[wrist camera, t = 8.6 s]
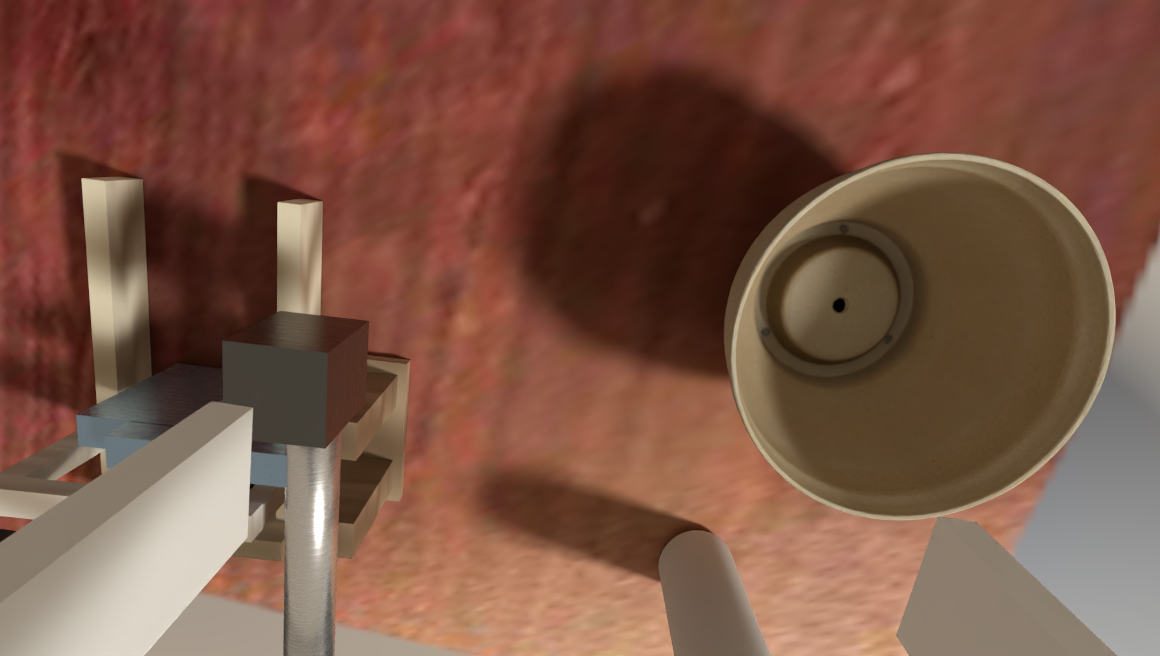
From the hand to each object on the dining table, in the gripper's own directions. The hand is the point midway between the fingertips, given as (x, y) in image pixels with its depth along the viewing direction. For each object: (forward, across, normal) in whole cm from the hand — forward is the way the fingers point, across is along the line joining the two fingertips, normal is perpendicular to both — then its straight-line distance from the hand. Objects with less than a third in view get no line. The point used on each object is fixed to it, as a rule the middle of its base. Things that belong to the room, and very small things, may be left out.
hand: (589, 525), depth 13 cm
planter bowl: (+27, +14, +1) cm, 30 cm away
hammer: (+26, -16, -13) cm, 33 cm away
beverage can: (+26, +10, -17) cm, 33 cm away
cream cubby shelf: (+26, -11, -11) cm, 31 cm away
